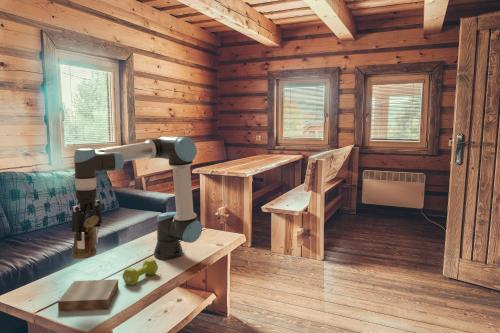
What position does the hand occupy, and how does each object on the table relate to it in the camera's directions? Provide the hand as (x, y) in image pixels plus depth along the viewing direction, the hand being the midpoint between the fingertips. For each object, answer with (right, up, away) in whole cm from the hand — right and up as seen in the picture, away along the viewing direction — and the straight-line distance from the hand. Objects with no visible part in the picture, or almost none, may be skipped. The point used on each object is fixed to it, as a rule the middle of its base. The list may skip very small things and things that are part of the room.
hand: (88, 245), depth 148 cm
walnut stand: (0, -22, +3) cm, 23 cm away
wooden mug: (0, -4, 0) cm, 4 cm away
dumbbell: (+14, -21, +23) cm, 34 cm away
